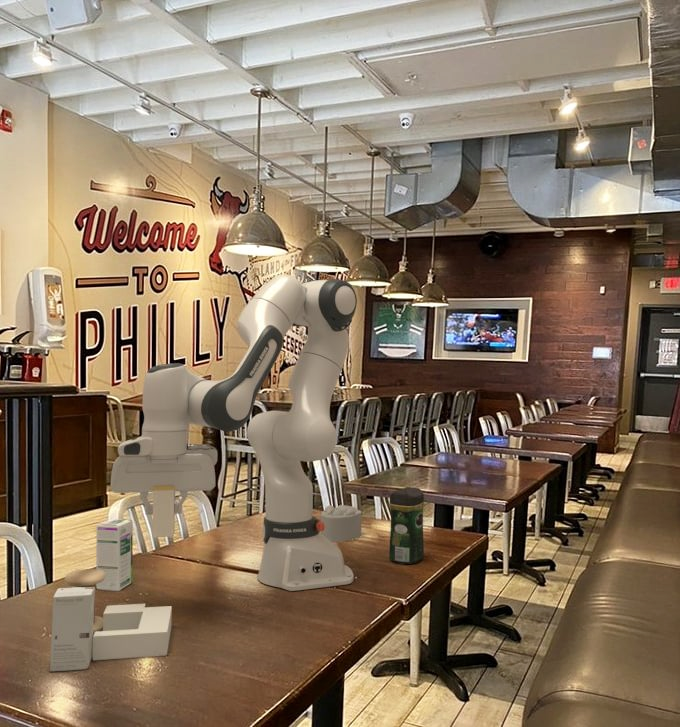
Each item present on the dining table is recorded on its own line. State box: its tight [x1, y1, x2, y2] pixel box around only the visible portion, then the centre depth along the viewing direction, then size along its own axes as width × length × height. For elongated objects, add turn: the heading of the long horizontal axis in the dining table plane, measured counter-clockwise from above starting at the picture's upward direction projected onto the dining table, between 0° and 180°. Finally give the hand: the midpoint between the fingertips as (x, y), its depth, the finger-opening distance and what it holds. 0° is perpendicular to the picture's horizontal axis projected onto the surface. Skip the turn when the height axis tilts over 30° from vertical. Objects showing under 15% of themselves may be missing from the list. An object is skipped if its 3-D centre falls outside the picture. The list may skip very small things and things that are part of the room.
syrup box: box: [95, 518, 134, 592], centre depth 143 cm, size 6×6×14 cm
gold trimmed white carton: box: [151, 486, 176, 538], centre depth 128 cm, size 4×4×10 cm
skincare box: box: [49, 586, 96, 672], centre depth 105 cm, size 6×4×12 cm
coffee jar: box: [388, 486, 425, 565], centre depth 166 cm, size 10×8×19 cm
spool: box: [64, 568, 105, 635], centre depth 120 cm, size 7×7×10 cm
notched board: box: [92, 603, 173, 661], centre depth 115 cm, size 12×14×4 cm
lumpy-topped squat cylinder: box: [320, 504, 363, 543], centre depth 188 cm, size 10×13×9 cm
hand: (163, 513), depth 128 cm, fingers closed on gold trimmed white carton, 4 cm apart
